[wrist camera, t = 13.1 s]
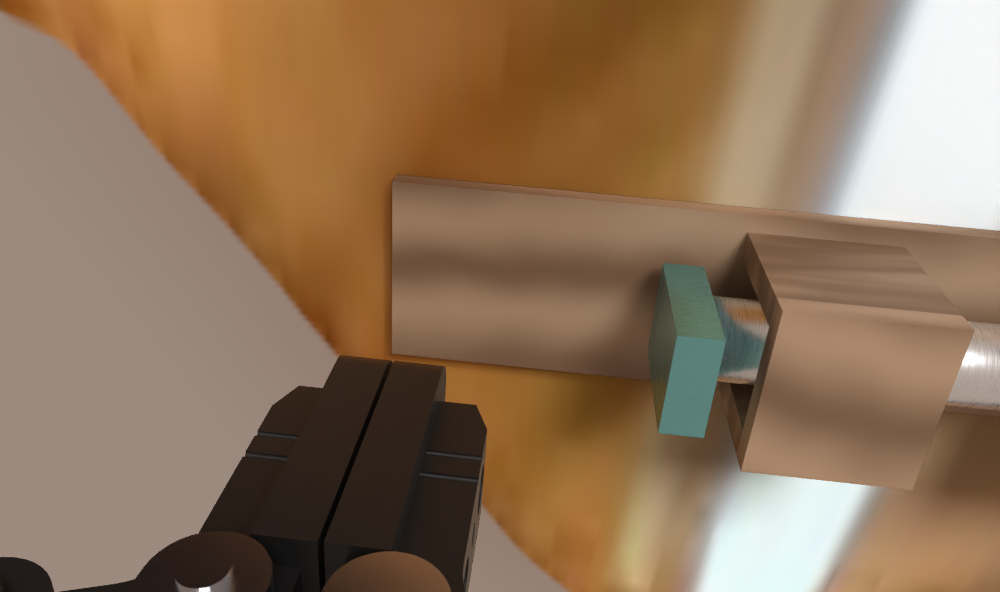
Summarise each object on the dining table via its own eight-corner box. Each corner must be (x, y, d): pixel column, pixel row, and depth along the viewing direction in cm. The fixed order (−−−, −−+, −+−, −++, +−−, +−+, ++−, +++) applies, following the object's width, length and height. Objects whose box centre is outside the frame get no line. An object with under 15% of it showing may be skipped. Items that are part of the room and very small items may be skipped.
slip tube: (647, 350, 42) (658, 433, 36) (662, 262, 40) (677, 335, 33) (1148, 401, 41) (1249, 496, 35) (1194, 314, 38) (1312, 400, 32)
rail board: (396, 174, 41) (351, 248, 33) (1288, 258, 39) (1469, 358, 31) (395, 344, 46) (355, 444, 38) (1191, 427, 43) (1326, 552, 35)
